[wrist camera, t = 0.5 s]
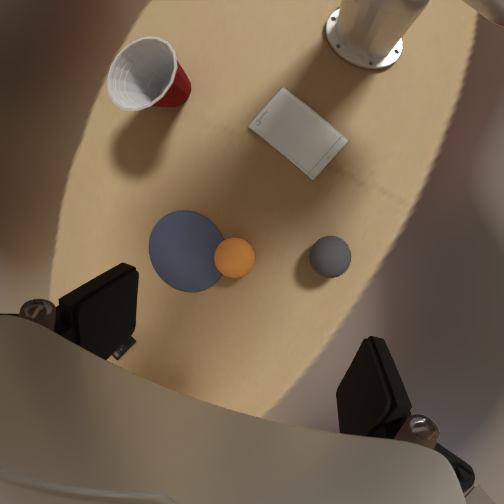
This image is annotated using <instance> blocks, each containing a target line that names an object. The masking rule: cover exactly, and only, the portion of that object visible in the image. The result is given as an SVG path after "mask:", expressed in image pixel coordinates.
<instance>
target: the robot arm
mask: <svg viewBox="0 0 504 504" xmlns="http://www.w3.org/2000/svg"><path fill="white" fill-rule="evenodd" d="M462 1H464V2H465V3H467V4H468V5H469V6H471V7H472V8H474V9H475V10H476V11H478V12H479V13H480V14H482V15H483V16H484V17H486V18H487V19H489V20H490V21H492V22H493V23H495V24H497V25H500V26H504V0H462ZM428 2H429V0H342V2H341V7H340V8H339V9H337V10H336V11H334V12H333V13H332V14H331V15H330V16H329V18H328V20H327V23H326V37H327V40H328V42H329V44H330V45H331V47H332V49H333V50H334V51H335V52H336V53H337V54H338V55H339V56H340V57H342V58H343V59H344V60H346V61H348V62H349V63H351V64H354V65H356V66H358V67H362V68H366V69H382V68H386V67H388V66H391V65H392V64H393V63H395V62H396V61H397V59H398V58H399V57H400V55H401V52H402V48H403V47H402V39H401V38H402V37H403V35H404V34H405V33H406V32H407V30H408V29H409V28H410V26H411V25H412V24H413V23H414V21H415V20H416V19H417V18H418V16H419V15H420V14H421V12H422V11H423V10H424V8H425V7H426V6H427V4H428ZM337 47H339V48H337ZM370 64H371V65H370ZM138 280H139V273H138V271H136V268H135V267H134V266H131V265H128V264H126V263H121V264H119V265H117V266H115V267H113V268H112V269H110V270H108V271H106V272H104V273H103V274H101V275H99V276H97V277H96V278H94V279H92V280H90V281H89V282H87V283H85V284H83V285H82V286H80V287H78V288H77V289H75V290H73V291H72V292H70V293H68V294H66V295H65V296H63V297H61V298H60V299H59V305H58V306H57V307H55V305H54V304H53V303H52V302H50V301H48V300H45V299H33V300H29V301H27V302H25V303H24V304H23V305H22V307H21V308H20V312H19V314H0V504H495V503H494V502H493V500H492V499H491V498H490V497H489V496H488V495H487V494H486V492H485V491H484V490H483V489H482V488H481V487H480V486H479V485H478V484H477V485H476V486H474V485H473V484H474V480H475V474H474V472H473V469H472V467H471V466H470V465H468V464H467V463H466V462H464V461H463V460H461V459H460V458H458V457H457V456H456V455H454V454H452V453H451V452H450V451H448V450H447V449H445V448H444V447H442V446H441V445H440V444H438V443H437V441H438V439H439V435H440V432H439V428H438V426H437V425H436V423H435V422H434V421H433V420H431V419H430V418H429V417H427V416H425V415H421V414H413V415H411V412H410V409H411V408H412V405H411V403H410V400H409V398H408V395H407V392H406V390H405V387H404V385H403V382H402V380H401V377H400V375H399V373H398V370H397V368H396V365H395V363H394V361H393V358H392V356H391V354H390V352H389V349H388V347H387V345H386V343H385V340H384V339H382V338H378V337H373V336H370V337H369V338H368V339H364V340H363V342H362V344H361V346H360V348H359V350H358V352H357V353H356V356H355V357H354V359H353V361H352V363H351V365H350V367H349V369H348V370H347V372H346V374H345V376H344V378H343V379H342V381H341V383H340V385H339V387H338V389H337V392H336V398H337V408H338V418H339V427H340V433H336V432H329V431H322V430H316V429H310V428H305V427H299V426H294V425H289V424H285V423H280V422H276V421H271V420H267V419H263V418H259V417H255V416H251V415H247V414H244V413H240V412H237V411H233V410H230V409H226V408H223V407H220V406H217V405H213V404H210V403H207V402H204V401H201V400H198V399H196V398H193V397H190V396H187V395H184V394H182V393H179V392H176V391H174V390H171V389H169V388H166V387H164V386H161V385H159V384H156V383H154V382H152V381H149V380H147V379H145V378H142V377H140V376H138V375H136V374H134V373H131V372H129V371H127V370H125V369H123V368H121V367H118V366H116V365H114V364H112V363H110V362H108V361H106V360H107V359H108V358H109V357H110V356H111V355H112V354H113V353H114V352H115V351H116V350H117V349H118V348H119V347H120V346H121V345H122V344H123V343H124V342H125V341H126V340H127V339H128V338H129V337H130V336H131V335H132V334H133V332H134V330H135V326H136V307H137V292H138Z"/></svg>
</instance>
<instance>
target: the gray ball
mask: <svg viewBox="0 0 504 504" xmlns="http://www.w3.org/2000/svg"><path fill="white" fill-rule="evenodd" d="M310 262H311V265H312V267H313V269H314V270H315V271H316V272H317V273H318V274H319V275H321V276H323V277H326V278H335V277H338V276H340V275H342V274H343V273H344V272H345V271H346V270H347V269H348V267H349V265H350V262H351V252H350V249H349V247H348V245H347V244H346V243H345V242H344V241H343V240H342V239H340V238H338V237H335V236H326V237H323V238H321V239H319V240H318V241H317V242H316V243H315V244H314V245H313V247H312V249H311V252H310Z"/></svg>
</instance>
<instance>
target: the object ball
mask: <svg viewBox="0 0 504 504" xmlns="http://www.w3.org/2000/svg"><path fill="white" fill-rule="evenodd" d="M214 261H215V265H216V267H217V269H218V270H219V271H220V272H221V273H222V274H223V275H225V276H227V277H230V278H239V277H242V276H244V275H246V274H247V273H249V272H250V270H251V269H252V267H253V265H254V262H255V254H254V250H253V248H252V246H251V245H250V244H249V243H248V242H247V241H245V240H244V239H241V238H237V237H233V238H228V239H226V240H224V241H222V242H221V243H220V244H219V245H218V247H217V248H216V251H215V254H214Z"/></svg>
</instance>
